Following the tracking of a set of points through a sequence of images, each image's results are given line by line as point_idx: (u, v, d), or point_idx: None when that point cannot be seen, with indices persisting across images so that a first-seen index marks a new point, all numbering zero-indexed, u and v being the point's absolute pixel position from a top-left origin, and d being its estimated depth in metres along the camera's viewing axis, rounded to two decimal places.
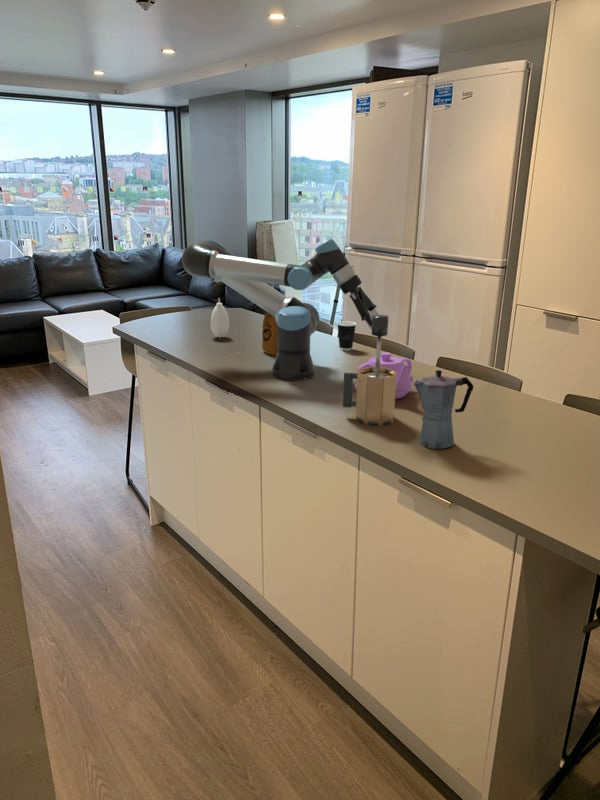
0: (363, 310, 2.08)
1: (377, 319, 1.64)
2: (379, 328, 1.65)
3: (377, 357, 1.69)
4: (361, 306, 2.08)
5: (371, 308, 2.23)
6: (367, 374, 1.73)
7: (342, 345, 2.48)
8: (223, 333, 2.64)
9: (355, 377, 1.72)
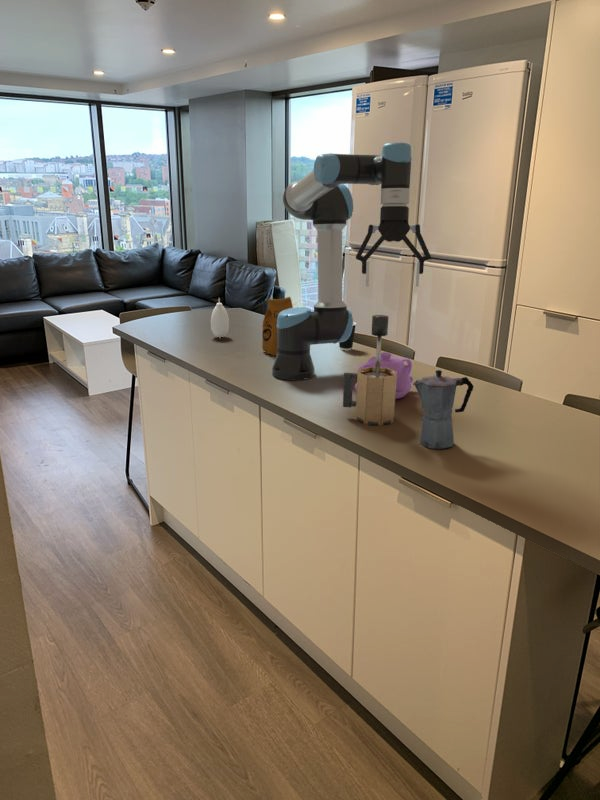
0: None
1: (377, 319, 1.64)
2: (379, 328, 1.65)
3: (377, 357, 1.69)
4: None
5: (419, 259, 1.64)
6: (367, 374, 1.73)
7: (342, 345, 2.48)
8: (223, 333, 2.64)
9: (355, 377, 1.72)
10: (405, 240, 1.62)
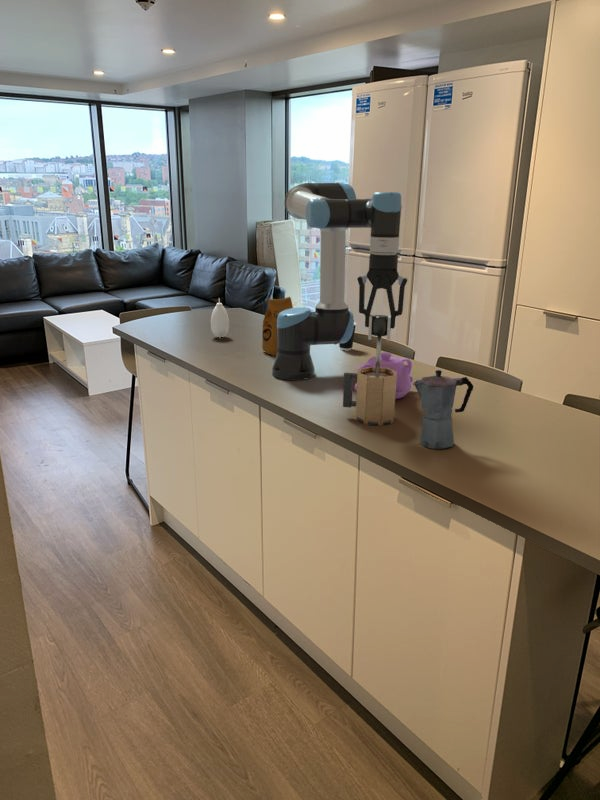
0: (359, 304, 1.65)
1: (377, 319, 1.64)
2: (379, 328, 1.65)
3: (377, 357, 1.69)
4: (359, 298, 1.65)
5: (391, 314, 1.65)
6: (367, 374, 1.73)
7: (342, 345, 2.48)
8: (223, 333, 2.64)
9: (355, 377, 1.72)
10: (387, 290, 1.61)
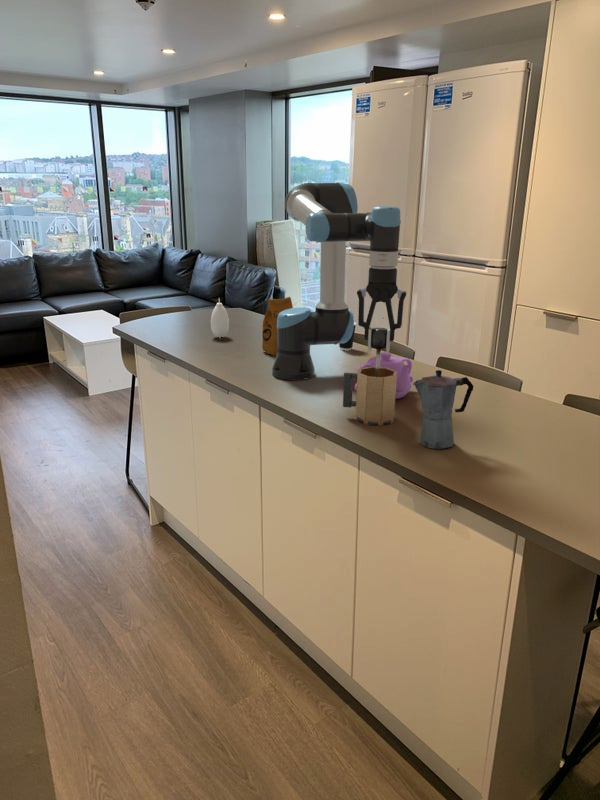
0: (358, 317, 1.67)
1: (376, 332, 1.65)
2: (379, 341, 1.66)
3: (376, 369, 1.70)
4: None
5: (390, 327, 1.66)
6: None
7: (342, 345, 2.48)
8: (223, 333, 2.64)
9: (355, 377, 1.72)
10: (387, 303, 1.63)
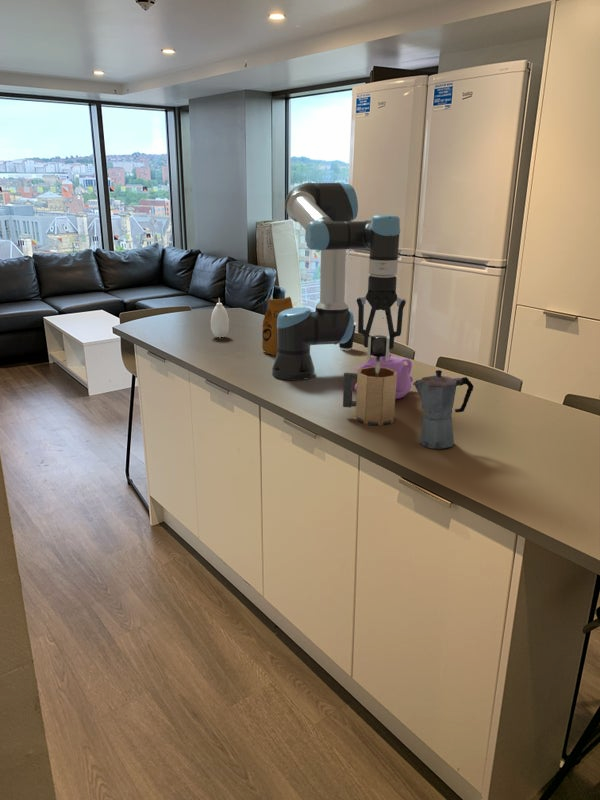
0: (358, 325, 1.67)
1: (376, 340, 1.66)
2: (378, 349, 1.67)
3: None
4: None
5: None
6: None
7: (342, 345, 2.48)
8: (223, 333, 2.64)
9: (355, 377, 1.72)
10: (386, 312, 1.63)
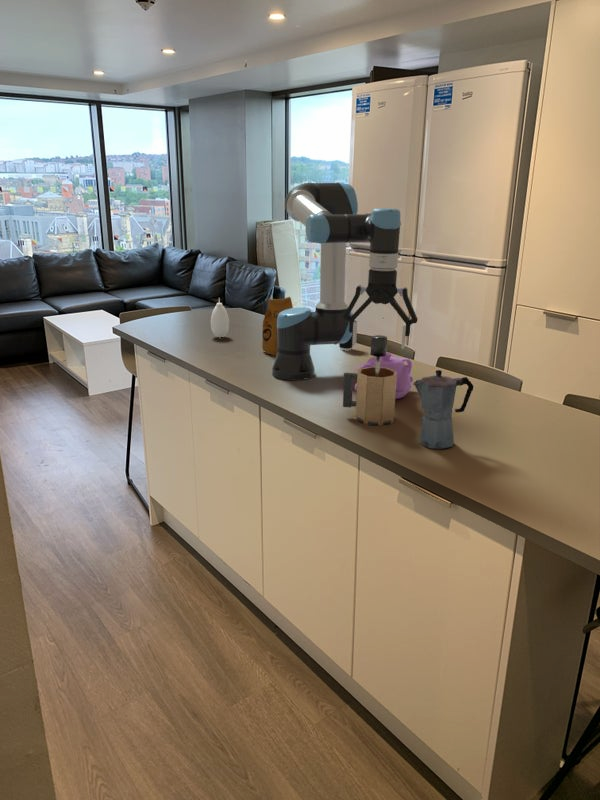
0: (346, 310, 1.67)
1: (376, 340, 1.66)
2: (378, 349, 1.67)
3: None
4: None
5: None
6: None
7: (342, 345, 2.48)
8: (223, 333, 2.64)
9: (355, 377, 1.72)
10: (392, 303, 1.62)
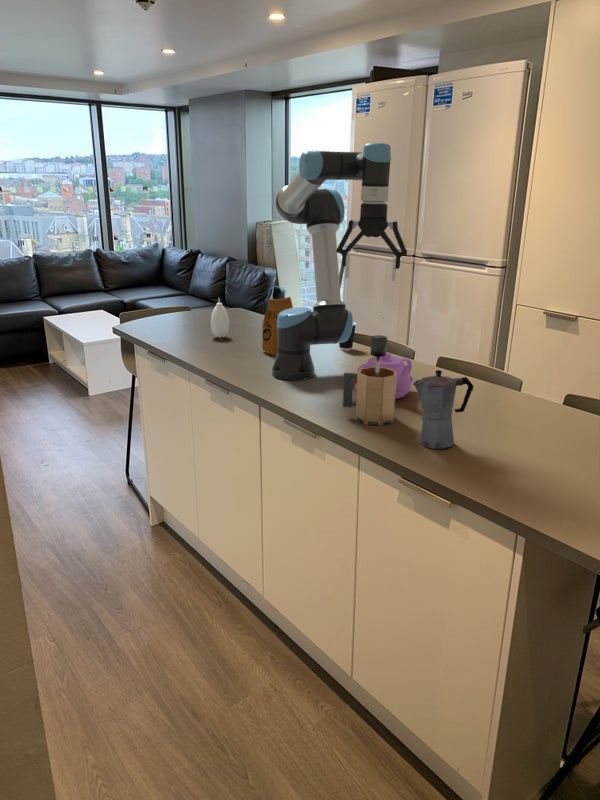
0: None
1: (376, 340, 1.66)
2: (378, 349, 1.67)
3: None
4: (342, 238, 1.74)
5: None
6: None
7: (342, 345, 2.48)
8: (223, 333, 2.64)
9: (355, 377, 1.72)
10: (382, 236, 1.71)
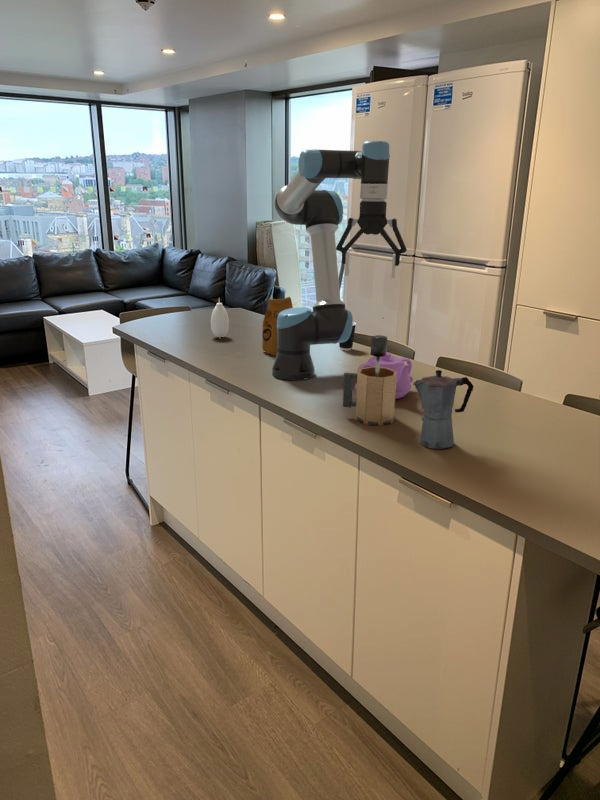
0: (339, 241, 1.76)
1: (376, 340, 1.66)
2: (378, 349, 1.67)
3: None
4: (342, 236, 1.75)
5: None
6: None
7: (342, 345, 2.48)
8: (223, 333, 2.64)
9: (355, 377, 1.72)
10: (382, 233, 1.72)
